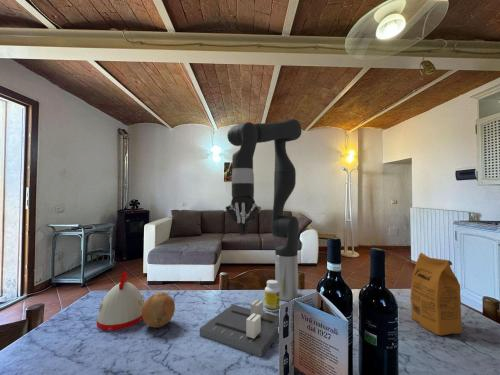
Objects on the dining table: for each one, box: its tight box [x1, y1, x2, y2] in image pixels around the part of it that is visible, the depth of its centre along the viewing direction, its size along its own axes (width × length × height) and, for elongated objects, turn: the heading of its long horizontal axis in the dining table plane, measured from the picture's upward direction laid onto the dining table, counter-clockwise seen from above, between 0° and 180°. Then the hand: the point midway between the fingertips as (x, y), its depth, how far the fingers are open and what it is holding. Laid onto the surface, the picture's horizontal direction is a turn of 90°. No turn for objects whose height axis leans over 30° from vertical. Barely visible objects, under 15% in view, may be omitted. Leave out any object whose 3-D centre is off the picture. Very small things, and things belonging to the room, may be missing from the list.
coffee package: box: [410, 252, 463, 336], centre depth 74 cm, size 10×12×22 cm
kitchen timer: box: [96, 270, 145, 331], centre depth 77 cm, size 14×14×15 cm
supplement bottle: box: [264, 279, 280, 313], centre depth 85 cm, size 5×5×10 cm
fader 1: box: [250, 299, 264, 317], centre depth 74 cm, size 4×2×4 cm, turn 152°
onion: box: [142, 291, 176, 329], centre depth 73 cm, size 10×10×10 cm
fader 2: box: [246, 313, 261, 338], centre depth 64 cm, size 4×2×4 cm, turn 152°
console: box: [199, 304, 280, 358], centre depth 71 cm, size 18×20×2 cm
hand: (242, 234), depth 77 cm, fingers closed
